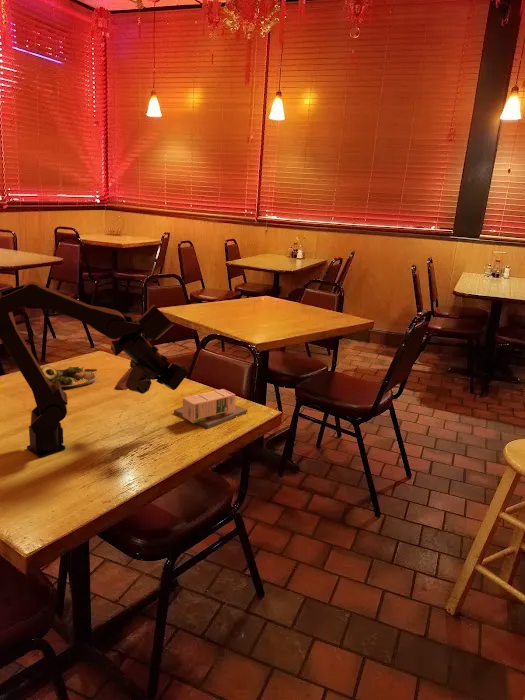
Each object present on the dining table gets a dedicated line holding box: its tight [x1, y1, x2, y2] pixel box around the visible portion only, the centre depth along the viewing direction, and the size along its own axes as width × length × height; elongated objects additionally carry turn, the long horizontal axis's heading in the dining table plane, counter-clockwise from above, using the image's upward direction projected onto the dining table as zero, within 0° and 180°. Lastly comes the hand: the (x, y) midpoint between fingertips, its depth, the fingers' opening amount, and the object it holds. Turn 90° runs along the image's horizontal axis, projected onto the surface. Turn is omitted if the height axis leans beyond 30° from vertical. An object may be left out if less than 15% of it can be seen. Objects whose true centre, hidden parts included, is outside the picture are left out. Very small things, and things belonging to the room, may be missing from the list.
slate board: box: [173, 404, 248, 429], centre depth 148 cm, size 16×14×1 cm
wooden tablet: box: [115, 367, 152, 392], centre depth 174 cm, size 26×2×10 cm
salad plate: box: [41, 365, 98, 390], centre depth 167 cm, size 19×18×5 cm
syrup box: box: [181, 388, 236, 424], centre depth 144 cm, size 6×6×14 cm
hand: (176, 385), depth 135 cm, fingers closed
